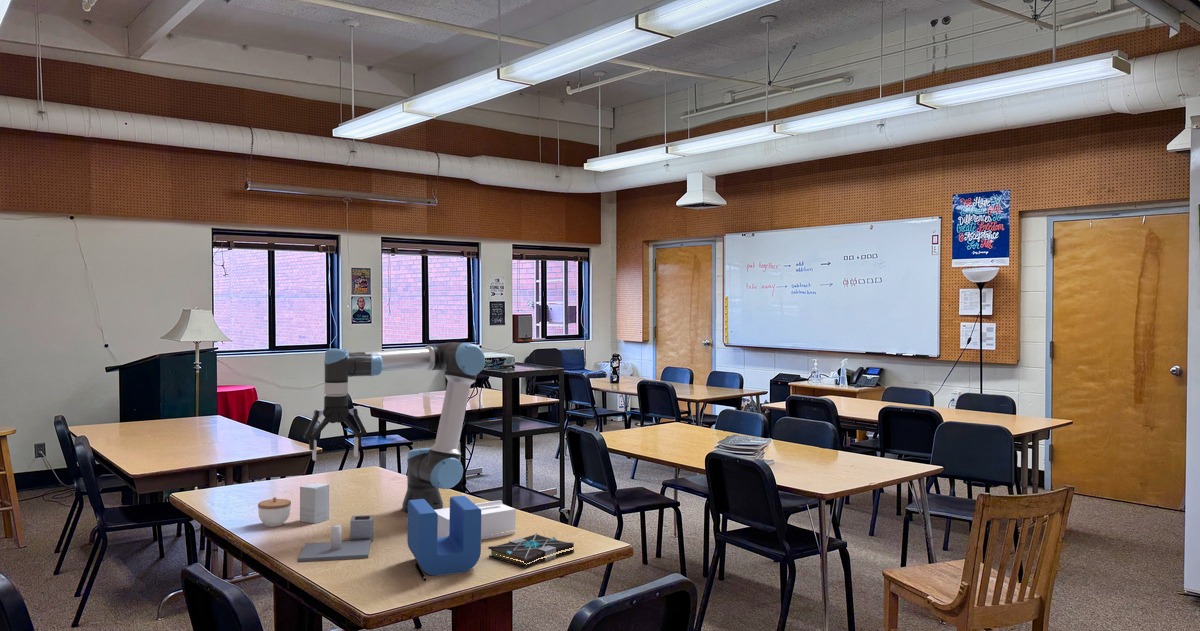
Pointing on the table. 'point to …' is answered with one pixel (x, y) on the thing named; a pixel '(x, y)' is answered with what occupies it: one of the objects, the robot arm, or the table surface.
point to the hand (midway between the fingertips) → (335, 458)
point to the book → (530, 550)
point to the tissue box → (484, 520)
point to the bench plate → (335, 554)
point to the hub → (362, 528)
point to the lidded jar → (274, 511)
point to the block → (445, 551)
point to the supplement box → (314, 503)
